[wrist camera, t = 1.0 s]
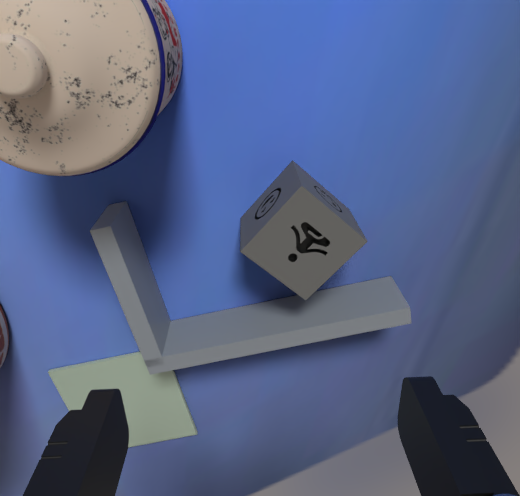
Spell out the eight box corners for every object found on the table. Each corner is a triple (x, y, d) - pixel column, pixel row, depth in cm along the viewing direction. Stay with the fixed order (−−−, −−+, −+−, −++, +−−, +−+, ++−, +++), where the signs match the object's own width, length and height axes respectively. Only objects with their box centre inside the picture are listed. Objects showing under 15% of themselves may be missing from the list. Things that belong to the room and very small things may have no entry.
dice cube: (348, 208, 30) (367, 241, 25) (296, 260, 31) (305, 300, 27) (292, 159, 28) (301, 185, 24) (240, 217, 30) (240, 251, 25)
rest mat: (164, 346, 34) (164, 349, 34) (197, 431, 38) (197, 434, 38) (49, 369, 35) (48, 372, 34) (93, 451, 38) (92, 453, 38)
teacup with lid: (217, 89, 26) (201, 132, 16) (84, 159, 28) (-11, 241, 17) (93, -154, 21) (-48, -325, 11) (-60, -53, 23) (-314, -118, 12)
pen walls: (377, 145, 28) (398, 163, 24) (392, 290, 33) (411, 323, 29) (108, 205, 29) (89, 230, 25) (159, 337, 34) (150, 374, 30)
